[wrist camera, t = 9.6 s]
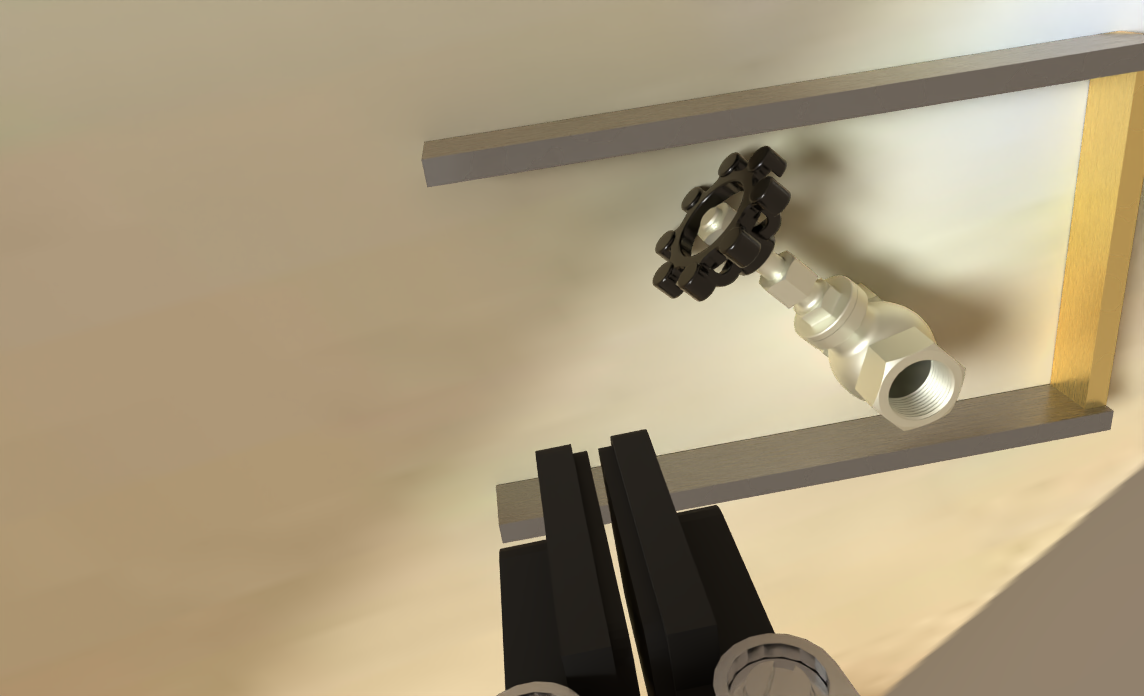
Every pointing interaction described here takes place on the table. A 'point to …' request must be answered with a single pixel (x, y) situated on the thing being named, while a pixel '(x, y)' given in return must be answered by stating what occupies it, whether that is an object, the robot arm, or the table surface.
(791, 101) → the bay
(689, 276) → the valve
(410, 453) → the table surface
